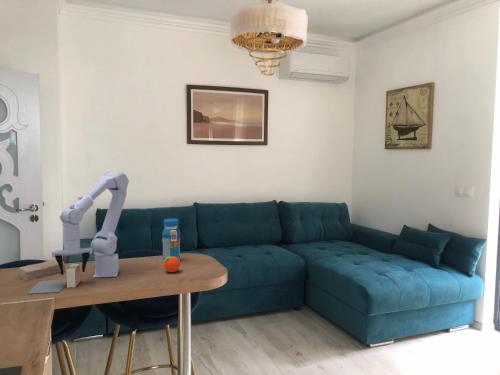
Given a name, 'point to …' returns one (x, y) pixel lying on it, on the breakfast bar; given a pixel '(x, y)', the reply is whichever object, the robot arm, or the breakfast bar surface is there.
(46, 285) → the mat
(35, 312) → the breakfast bar surface
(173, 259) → the clementine
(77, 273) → the slab
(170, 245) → the beverage bottle
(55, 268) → the brick
